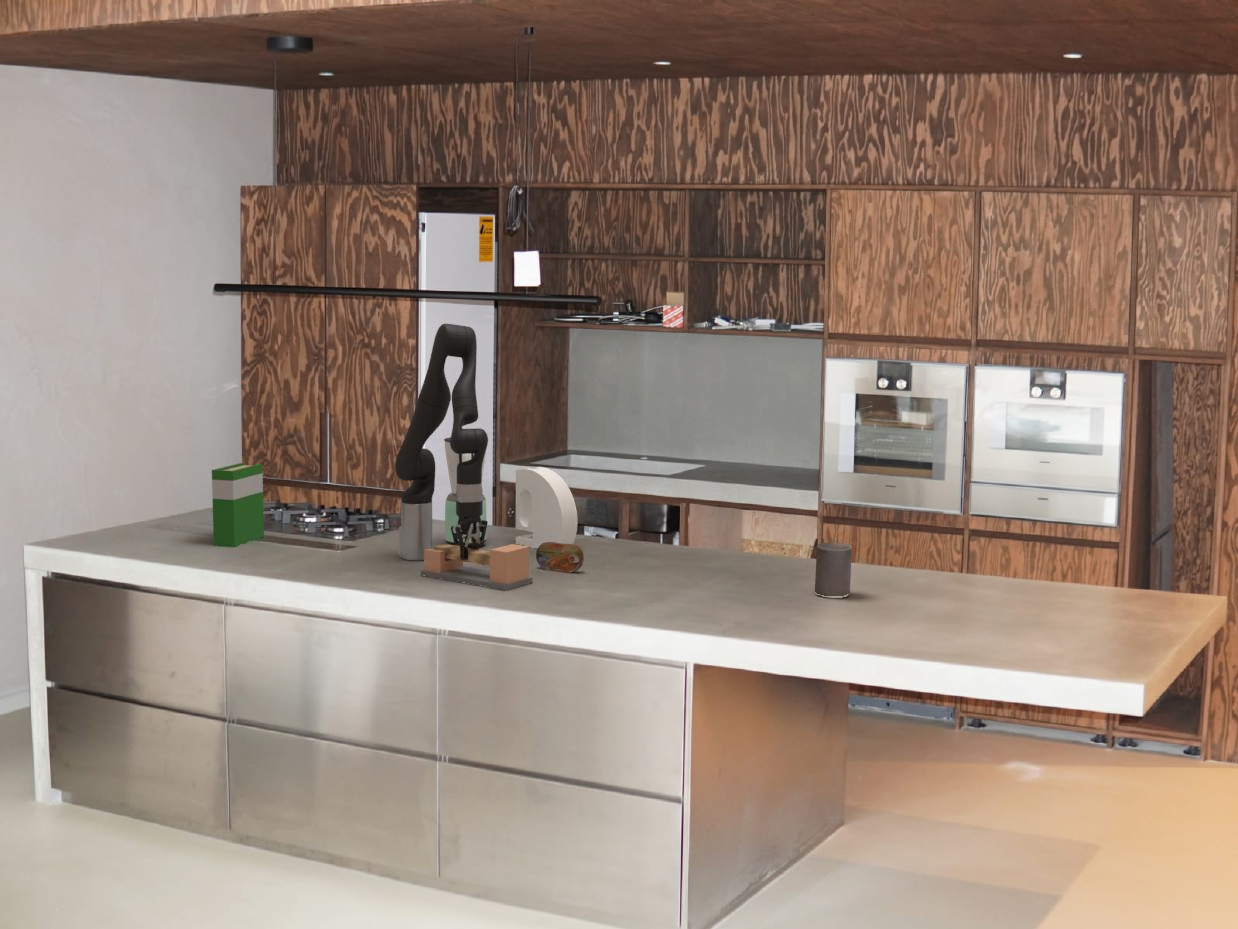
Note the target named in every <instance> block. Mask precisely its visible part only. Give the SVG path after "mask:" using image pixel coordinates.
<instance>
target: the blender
mask: <svg viewBox="0 0 1238 929" xmlns="http://www.w3.org/2000/svg"><path fill="white" fill-rule="evenodd" d="M450 439H451V436H450V437H446V438H444V439H443V441H444V449H445V450H444V452H445V457H446V464H447V469H448V476H449V483H450V489H451V492H450V493H448V495H447V496H446V499H445V504H444V505H445V506H444V509H445V510H444V512H445V513H444V534H445V535H444V540H445V543H446V544H448V545H455V544H454V540H453V536H452V532H451V526H456V525H457V524H458V520H459V517H458V516H457V515H456V487H457V465H458V464H459V463H461V462H465V461H468V460H470V459H472V457H473V456H474V453H472V454H457V453H455V452H454V451H453V450H452V449H451V446H450ZM486 454H487V451H486V452H485V455H484V459H483V464H482V476H483V475H484V474H483V473H484V468H485V467H484V466H485V460H486ZM480 518H481V520H485V521H487V499H486V497H485V495H484V494H483V514H482V515H481V516H480ZM481 534H482V532H481V533H480V537H481ZM463 536H466V535H464V534H463ZM474 538H475V537H474ZM487 539H488V538H487V530H486V533H485V538H484V541H481V542H480V544H479V549H481V548H482V546H483V545H484V544H486V542H487ZM458 541H459V540H458ZM464 541H465V539H463V542H464ZM471 544H472V543H471V539H469V541H468V546H467V547H468V548H469V547H471ZM455 546H458V545H455Z"/></svg>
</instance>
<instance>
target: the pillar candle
mask: <svg viewBox="0 0 1238 929" xmlns="http://www.w3.org/2000/svg"><path fill="white" fill-rule="evenodd" d="M852 551H853V547H852V545H848V544H846V543H840V542H835V541H833V542H822V543H818V544H817V545H816V555H815V556H816V557H815V560H816V561H815V578H814V580H815V581H814V583H815V584H814V593H815V592H816V593H817V594H820V595H824V596H844V595H847V594H849V593H850V594H851V579H852V578H851V576H852V555H853V554H852V553H853V552H852Z"/></svg>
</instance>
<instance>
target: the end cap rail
mask: <svg viewBox="0 0 1238 929" xmlns="http://www.w3.org/2000/svg"><path fill="white" fill-rule="evenodd" d="M445 545H449V544H447V543H446V544H445ZM451 546H455V545H451ZM458 547H460V546H458ZM489 552H490V566H489V569H482V568H476V567H470V566H464V561H458V560H452V559H445V551H440V550H434V549H433V548H432V549H425V550H424V560H423V562H424V568H423V569H422V570H420V576H421V575H425V576H428V577H427V578H431V577H432V578H433V579H436V578H442V579H445V580H444V581H448V580H451V581H450V582H453V581H455V582H454V583H459V582H465V583H469V584H468V585H470V584H473V586H476V585H482V586H486V587H485V588H488V587H490V588H489V589H493V588H494V589H495V590H499V589H502V590H501V591H505V590H507V591H510V590H513V588H514V589H516V587H517V588H520V587H522V586H521V585H524V586H526V584H527V585H529V584H528V583H531V582H532V583H533V577H531V576H530V548H529V547H528V546H521V545H516V543H514V544H513V543H511V544H508V545H507V544H506V545H504V546H499V547H495V548H492V549H489ZM425 576H424V577H425ZM442 579H441V580H442ZM465 583H464V584H465ZM532 583H531V584H532ZM482 586H481V587H482ZM519 586H520V587H519ZM509 589H510V590H509Z"/></svg>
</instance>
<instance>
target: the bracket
mask: <svg viewBox="0 0 1238 929" xmlns="http://www.w3.org/2000/svg"><path fill="white" fill-rule="evenodd" d="M515 529H516V530H521V531H526V532H530V533H529V534H523V535H518V536H515V545H516V544H520V545H524V546H528V547H531V548H530V549H534V548H538V547H539V546H540V545H541V544H542V543H545V542H558V543H568V544H574V543H575V541H576V538H577V537H576V536H577V532H578V511H577V506H576V502H575V498H574V496H573V493H572V492H571V489H570V487H569V486H568V484H567V483H566V482H565V480H564V478H562V476H560V475H559V474H558V473H557V472H556V471H553V470H552V469H550V468H547V467H544V466H534V467H527V468H521V469H520V468H519V469H516V470H515Z"/></svg>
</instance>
